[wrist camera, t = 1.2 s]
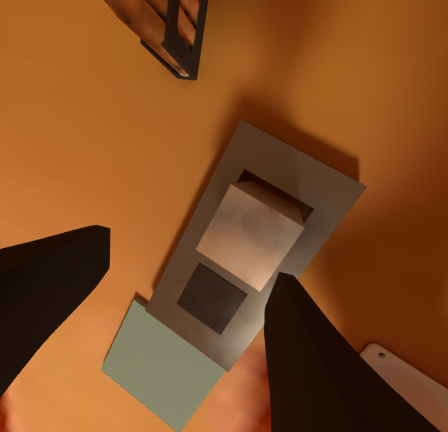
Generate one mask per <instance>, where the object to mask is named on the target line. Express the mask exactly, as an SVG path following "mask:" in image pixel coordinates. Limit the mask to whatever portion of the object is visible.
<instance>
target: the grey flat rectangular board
mask: <svg viewBox="0 0 448 432" xmlns="http://www.w3.org/2000/svg"><path fill="white" fill-rule="evenodd" d="M247 171H249V172H251V173H253V174H254V175H256V176H258V177H260V178H261V179H263V180H265V181H267V182H268V183H270V184H272V185H274V186H275V187H277V188H279V189H281V190H282V191H284V192H286V193H288V194H289V195H291V196H293V197H295V198H296V199H298V200H300V201H302V202H303V203H305V204H307V205H309V206H310V207H311V208H310V209H309V211H308V212H307V214H306V215H305V217H304V218H303V223H304V227H305V228H304V230H303V231H302V232H301V234H300V235H299V237H298V238H297V240H296V241H295V242H294V244H293V245H292V247H291V248H290V250H289V251H288V253H287V254H286V255H285V257H284V258H283V260H282V261H281V263H280V264H279V266H278V267H277V268H276V270H275V271H274V273H273V274H272V276H271V277H270V278H269V280H268V281H267V283H266V284H265V286H264V287H263V289H262V290H261V291H260V292H259V291H258V290H256V289H255V288H253V287H252V286H250V285H249V284H247V283H246V282H244V281H243V280H241V279H240V278H238V277H237V276H235V275H234V274H232V273H231V272H229V271H228V270H226V269H225V268H223V267H222V266H220V265H219V264H217V263H215V262H214V261H212V260H211V259H209V258H208V257H206V256H205V255H203V254H202V253H200V252H199V251H197V250H196V248H197V246H198V245H199V243H200V241H201V239H202V237H203V235H204V233H205V232H206V230H207V228H208V226H209V224H210V222H211V220H212V219H213V217H214V215H215V213H216V211H217V209H218V207H219V206H220V204H221V202H222V200H223V198H224V196H225V194H226V193H227V191H228V189H229V187H230V185H231V184H235V183H241V181H242V180H243V178H244V176H245V174H246V172H247ZM366 187H367V186H365V185H363V184H361V183H359V182H357V181H356V180H354V179H352V178H350V177H348V176H346V175H344V174H342V173H341V172H339V171H337V170H335V169H333V168H331V167H329V166H327V165H326V164H324V163H322V162H320V161H318V160H316V159H314V158H312V157H311V156H309V155H307V154H305V153H303V152H301V151H299V150H297V149H296V148H294V147H292V146H290V145H288V144H286V143H284V142H282V141H281V140H279V139H277V138H275V137H273V136H271V135H269V134H267V133H266V132H264V131H262V130H260V129H258V128H256V127H254V126H253V125H251V124H249V123H247V122H245V121H243V120H240V122H239V124H238V126H237V128H236V130H235V132H234V134H233V136H232V138H231V140H230V142H229V144H228V146H227V148H226V150H225V152H224V154H223V156H222V158H221V160H220V162H219V164H218V166H217V168H216V170H215V172H214V174H213V176H212V178H211V180H210V182H209V184H208V186H207V188H206V190H205V192H204V194H203V195H202V197H201V199H200V201H199V203H198V205H197V207H196V209H195V211H194V213H193V215H192V217H191V219H190V221H189V223H188V225H187V227H186V229H185V231H184V233H183V235H182V237H181V239H180V241H179V243H178V245H177V247H176V249H175V251H174V253H173V255H172V257H171V259H170V261H169V263H168V265H167V267H166V269H165V271H164V273H163V275H162V277H161V279H160V281H159V283H158V285H157V287H156V289H155V291H154V293H153V295H152V297H151V299H150V301H149V303H148V305H147V307H146V309H145V311H146V312H148V313H149V314H150V315H152V316H153V317H154V318H156V319H157V320H158V321H160V322H161V323H162V324H164V325H165V326H166V327H168V328H169V329H171V330H172V331H173V332H175V333H176V334H177V335H179V336H180V337H181V338H183V339H184V340H185V341H187V342H188V343H189V344H191V345H192V346H194V347H195V348H196V349H198V350H199V351H200V352H202V353H203V354H204V355H206V356H207V357H208V358H210V359H211V360H212V361H214V362H215V363H216V364H218V365H219V366H221V367H222V368H223V369H225V370H226V371H227V372H229V371H230V369H231V368H232V367H233V365H234V364H235V363H236V361H237V360H238V359H239V357H240V356H241V355H242V353H243V352H244V351H245V349H246V348H247V347H248V345H249V344H250V343H251V341H252V340H253V339H254V337H255V336H256V335H257V333H258V332H259V331H260V329H261V328H262V327H263V325H264V312H265V306H266V303H267V301H268V298H269V296H270V293H271V291H272V288H273V286H274V283H275V281H276V278H277V276H278V273H279V272H283V273H287V274H291V275H294V276H295V277H296V279H297V280H298V278H299V277H300V276H301V274H302V273H303V272H304V270H305V269H306V268H307V266H308V265H309V264H310V262H311V261H312V260H313V258H314V257H315V256H316V254H317V253H318V252H319V250H320V249H321V248H322V246H323V245H324V244H325V242H326V241H327V240H328V238H329V237H330V235H331V234H332V233H333V231H334V230H335V229H336V227H337V226H338V225H339V223H340V222H341V221H342V219H343V218H344V217H345V215H346V214H347V213H348V211H349V210H350V209H351V207H352V206H353V205H354V203H355V202H356V201H357V199H358V198H359V197H360V195H361V194H362V193H363V191H364V190H365V189H366Z"/></svg>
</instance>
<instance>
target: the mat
mask: <svg viewBox="0 0 448 432" xmlns="http://www.w3.org/2000/svg"><path fill="white" fill-rule="evenodd" d="M147 305H148V304H146V303H145V302H144V301H142V300H141V299H139V298H138V297H136V298H135V299H134V300H133V302H132V304H131V306H130V309H129V311H128V313H127V315H126V317H125V319H124V321H123V323H122V325H121V328H120V330H119V332H118V334H117V336H116V338H115V340H114V342H113V344H112V347H111V349H110V351H109V353H108V355H107V357H106V359H105V361H104V363H103V366H102V368H101V370H102V371H103V372H104V373H106V374H107V375H108V376H109V377H110V378H112V379H113V380H114V381H115V382H116V383H118V384H119V385H120V386H121V387H123V388H124V389H125V390H126V391H127V392H129V393H130V394H131V395H132V396H134V397H135V398H136V399H137V400H138V401H140V402H141V403H142V404H143V405H144V406H146V407H147V408H148V409H149V410H151V411H152V412H153V413H154V414H155V415H157V416H158V417H159V418H160V419H161V420H163V421H164V422H165V423H166V424H168V425H169V426H170V427H171V428H172V429H174V430H175V431H176V432H180V431H181V430H182V429H183V427H184V426H185V425H186V423H187V422H188V420H189V419H190V418H191V416H192V415H193V414H194V412H195V411H196V410H197V408H198V407H199V406H200V404H201V403H202V402H203V400H204V399H205V397H206V396H207V395H208V393H209V392H210V391H211V389H212V388H213V387H214V385H215V384H216V383H217V381H218V380H219V378H220V377H221V376H222V374H223V373H224V372H225V369H223V368H222V367H221V366H219V365H218V364H216V363H215V362H214V361H212V360H211V359H210V358H208V357H207V356H206V355H204V354H203V353H202V352H200V351H199V350H198V349H196V348H195V347H194V346H192V345H191V344H189V343H188V342H187V341H185V340H184V339H183V338H181V337H180V336H179V335H177V334H176V333H175V332H173V331H172V330H171V329H169V328H168V327H166V326H165V325H164V324H162V323H161V322H160V321H158V320H157V319H156V318H154V317H153V316H152V315H150V314H149V313H148V312H146V311H145V309H146V307H147Z"/></svg>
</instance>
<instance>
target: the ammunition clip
mask: <svg viewBox="0 0 448 432" xmlns="http://www.w3.org/2000/svg"><path fill="white" fill-rule="evenodd" d="M104 1H105V2H106V3H107V4H108V5H109V7H110V8H111V9H112V11H113V12H114V13H115V15H116V16H117V17H118V18H119V19H120V20H121V21H122V22H123V23H124V24H126V25H127V26H128V27H129V28H130V29H131V30H132V31H133V32H134V33H135V34H137V35H138V36H139V37H140V38H141V44H142V45H143V46H144V47H145V48H146V49H147V50H148V51H149V52H150V53H151V54H152V55H153V56H154V57H155V58H157V59H158V60H159V61H160V62H161V63H162V64H163V65H164V66H165V67H166V68H167V69H168V70H169V71H170V72H171V73H172V74H173V75H174V76H175V77H176V78H177V79H186V80H197V75H198V68H199V61H200V54H201V47H202V40H203V33H204V26H205V19H206V12H207V5H208V0H104Z"/></svg>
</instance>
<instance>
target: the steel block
mask: <svg viewBox="0 0 448 432" xmlns="http://www.w3.org/2000/svg"><path fill="white" fill-rule="evenodd" d="M304 228H305V227H304V223H303V219H302V216H301V212H300V208H298V207H296V206H295V205H293V204H291V203H290V202H288V201H286V200H284V199H283V198H281V197H279V196H277V195H276V194H274V193H272V192H270V191H269V190H267V189H265V188H264V187H262V186H260V185H258V184H257V183H255V182H253V181H246V182H241V183H235V184H231V185H230V187H229V189H228V191H227V193H226V194H225V196H224V198H223V200H222V202H221V204H220V206H219V207H218V209H217V211H216V213H215V215H214V217H213V219H212V220H211V222H210V224H209V226H208V228H207V230H206V232H205V233H204V235H203V237H202V239H201V241H200V243H199V245H198V246H197V248H196V250H197V251H199V252H200V253H202V254H203V255H205V256H206V257H208V258H209V259H211V260H212V261H214V262H215V263H217V264H219V265H220V266H222V267H223V268H225V269H226V270H228V271H229V272H231V273H232V274H234V275H235V276H237V277H238V278H240V279H241V280H243V281H244V282H246V283H247V284H249V285H250V286H252V287H253V288H255V289H256V290H258V291H259V292H260V291H261V290H262V289H263V287H264V286H265V284H266V283H267V281H268V280H269V278H270V277H271V276H272V274H273V273H274V271H275V270H276V268H277V267H278V266H279V264H280V263H281V261H282V260H283V258H284V257H285V255H286V254H287V253H288V251H289V250H290V248H291V247H292V245H293V244H294V242H295V241H296V240H297V238H298V237H299V235H300V234H301V232H302V231H303V230H304Z"/></svg>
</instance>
